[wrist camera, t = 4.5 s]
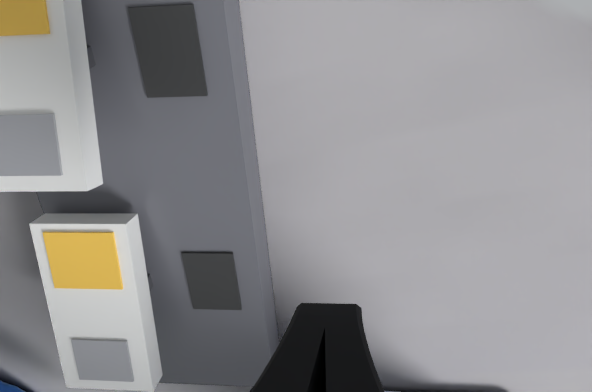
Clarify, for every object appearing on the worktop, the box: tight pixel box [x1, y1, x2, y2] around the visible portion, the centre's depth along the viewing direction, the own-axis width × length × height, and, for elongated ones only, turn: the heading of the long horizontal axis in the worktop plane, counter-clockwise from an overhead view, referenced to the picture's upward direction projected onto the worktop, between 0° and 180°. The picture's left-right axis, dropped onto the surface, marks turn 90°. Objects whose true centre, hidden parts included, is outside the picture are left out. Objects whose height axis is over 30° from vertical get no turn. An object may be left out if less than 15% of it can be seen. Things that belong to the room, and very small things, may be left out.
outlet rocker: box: [0, 0, 103, 192], centre depth 16 cm, size 7×4×1 cm, turn 3°
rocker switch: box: [29, 213, 163, 392], centre depth 20 cm, size 7×4×1 cm, turn 4°
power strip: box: [36, 0, 279, 387], centre depth 20 cm, size 21×8×3 cm, turn 4°
